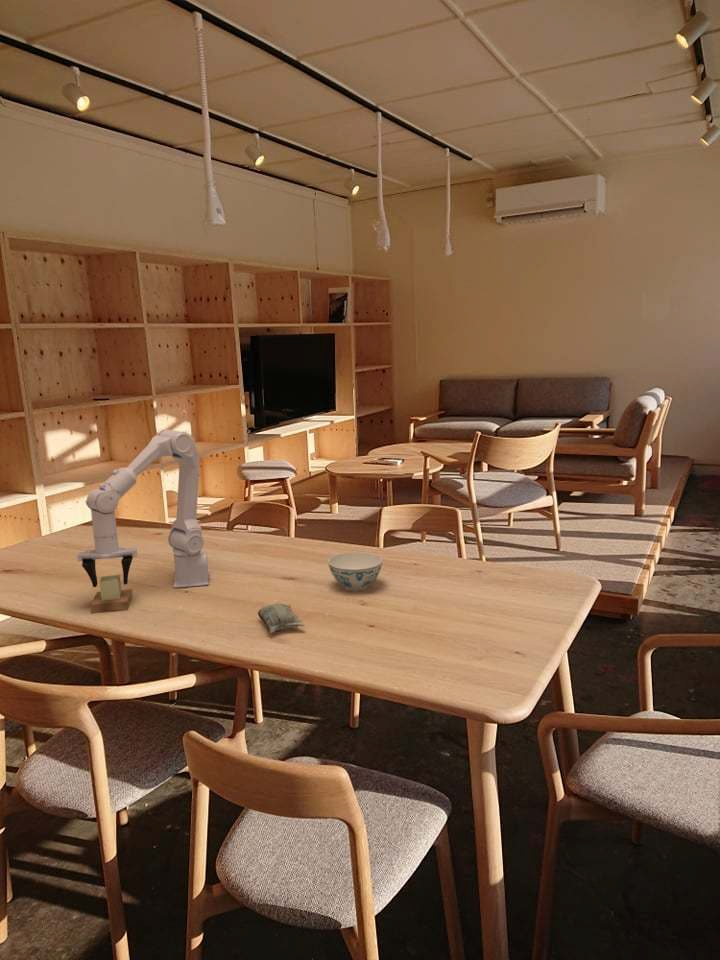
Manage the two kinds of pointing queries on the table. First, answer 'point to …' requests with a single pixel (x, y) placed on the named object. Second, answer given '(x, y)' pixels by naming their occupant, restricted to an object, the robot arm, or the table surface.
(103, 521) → the robot arm
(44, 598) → the table surface
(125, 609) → the walnut box
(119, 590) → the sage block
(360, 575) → the chinaware
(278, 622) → the packaged food
